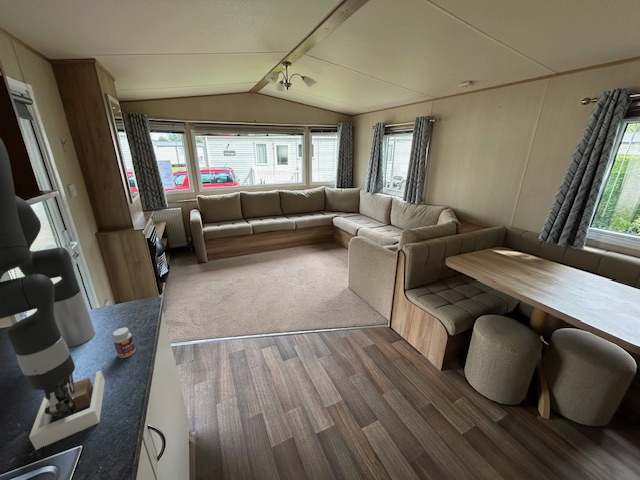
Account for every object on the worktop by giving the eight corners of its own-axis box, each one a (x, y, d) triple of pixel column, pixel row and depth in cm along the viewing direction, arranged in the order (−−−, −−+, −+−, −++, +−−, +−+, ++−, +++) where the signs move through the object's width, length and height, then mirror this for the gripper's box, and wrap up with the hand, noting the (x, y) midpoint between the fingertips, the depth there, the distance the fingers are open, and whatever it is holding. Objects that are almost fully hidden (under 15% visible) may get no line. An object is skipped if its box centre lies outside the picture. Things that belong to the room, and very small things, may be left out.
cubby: (52, 400, 70) (47, 389, 68) (104, 381, 75) (100, 370, 74) (35, 449, 58) (29, 437, 57) (99, 422, 64) (94, 410, 62)
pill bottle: (126, 359, 83) (120, 337, 80) (114, 357, 84) (107, 335, 81) (139, 348, 87) (133, 327, 85) (127, 346, 88) (121, 325, 86)
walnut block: (64, 399, 70) (59, 387, 69) (93, 388, 73) (89, 377, 72) (59, 417, 65) (53, 405, 64) (90, 405, 68) (85, 393, 67)
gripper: (32, 349, 62) (57, 404, 68) (11, 389, 52) (42, 450, 57) (74, 337, 66) (94, 390, 72) (62, 372, 55) (87, 431, 61)
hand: (71, 416), depth 64 cm, fingers closed
